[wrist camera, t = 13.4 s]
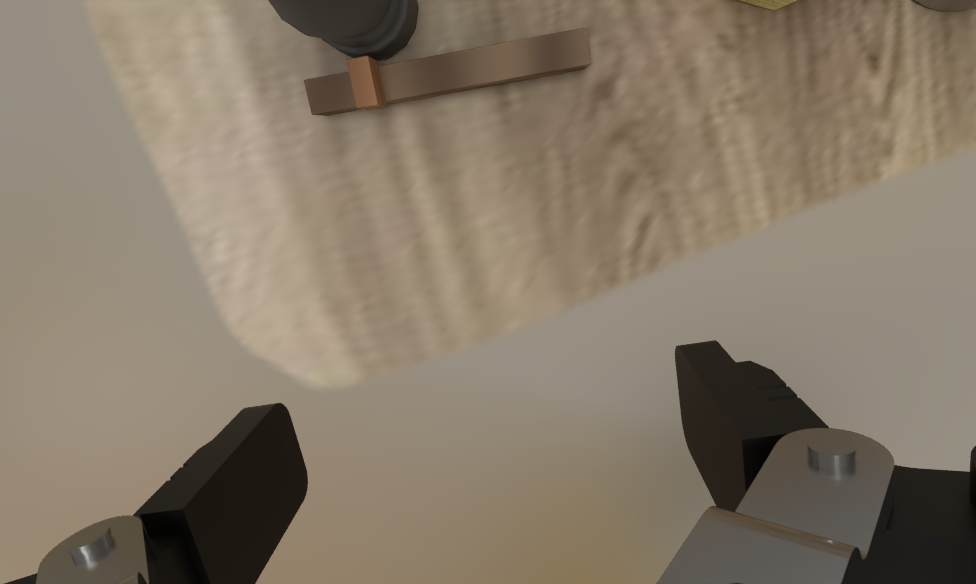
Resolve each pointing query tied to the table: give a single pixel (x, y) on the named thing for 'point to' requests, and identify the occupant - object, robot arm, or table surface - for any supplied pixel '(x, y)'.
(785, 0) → the candy box
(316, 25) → the candle holder
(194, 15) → the table surface
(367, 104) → the guide rails
